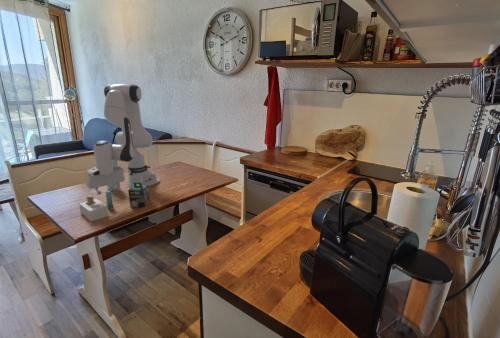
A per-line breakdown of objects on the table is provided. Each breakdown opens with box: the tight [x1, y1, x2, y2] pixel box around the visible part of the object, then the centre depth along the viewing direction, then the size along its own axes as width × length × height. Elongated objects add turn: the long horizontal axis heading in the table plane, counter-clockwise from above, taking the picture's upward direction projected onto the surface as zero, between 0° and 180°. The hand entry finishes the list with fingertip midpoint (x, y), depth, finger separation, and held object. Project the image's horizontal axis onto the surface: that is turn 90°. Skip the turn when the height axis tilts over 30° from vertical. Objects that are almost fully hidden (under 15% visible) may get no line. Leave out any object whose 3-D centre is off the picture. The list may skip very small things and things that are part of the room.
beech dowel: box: [86, 195, 94, 205], centre depth 150 cm, size 3×3×10 cm
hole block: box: [78, 198, 110, 222], centre depth 148 cm, size 9×14×6 cm, turn 51°
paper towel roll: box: [106, 160, 121, 192], centre depth 181 cm, size 7×6×21 cm
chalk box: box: [127, 183, 151, 208], centre depth 161 cm, size 9×9×15 cm
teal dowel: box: [104, 190, 114, 209], centre depth 157 cm, size 3×3×10 cm
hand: (107, 192), depth 155 cm, fingers open, 8 cm apart
